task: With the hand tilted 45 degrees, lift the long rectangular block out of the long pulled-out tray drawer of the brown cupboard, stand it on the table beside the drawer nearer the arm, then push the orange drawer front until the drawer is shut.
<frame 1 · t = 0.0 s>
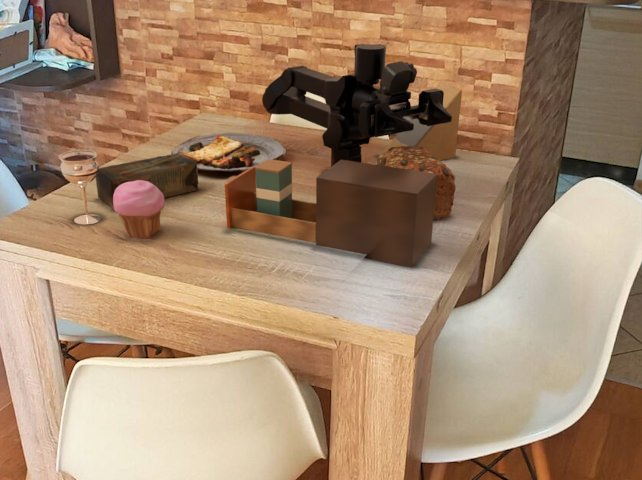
hand: (432, 123, 148), 17 cm above the table, tool horizontal, fingers open, 9 cm apart
long rectangular block: (275, 224, 149), point 1 cm above the table, touching drawer
cupcake: (142, 237, 146), on the table
bread: (411, 204, 160), on the table
drawer: (279, 204, 147), point 5 cm above the table, slide at 16.7 cm, touching long rectangular block
sandwich container: (416, 157, 184), on the table
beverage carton: (149, 196, 164), on the table
wineglass: (87, 220, 153), on the table
food plate: (228, 161, 182), on the table
brown cupboard: (373, 246, 143), on the table
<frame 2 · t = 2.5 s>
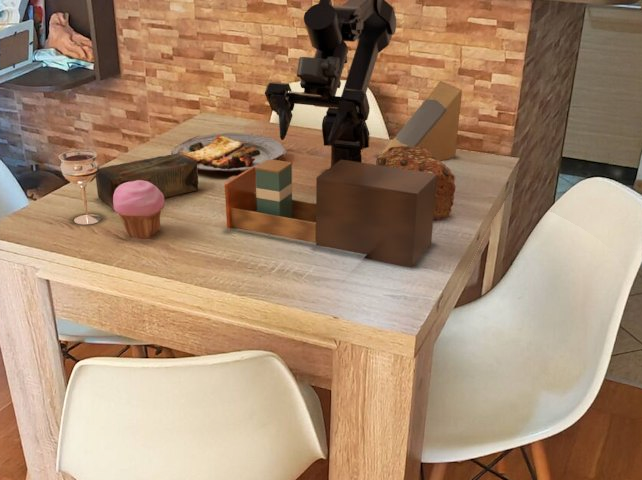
hand: (305, 141, 147), 14 cm above the table, tool tilted 50°, fingers open, 9 cm apart
nothing on the table moved.
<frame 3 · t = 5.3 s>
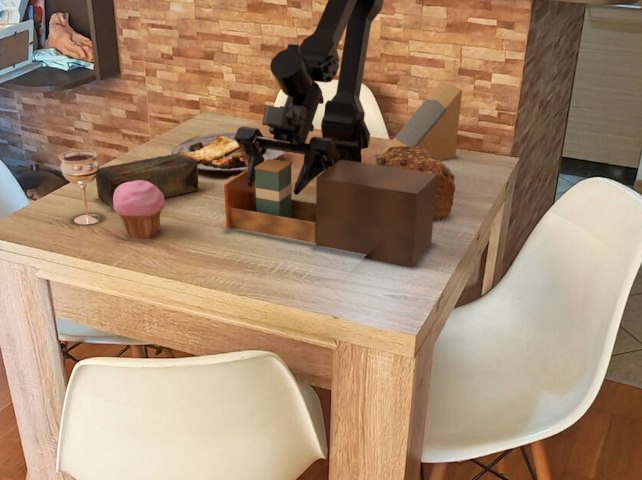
hand: (272, 189, 145), 8 cm above the table, tool tilted 45°, fingers open, 9 cm apart
drawer: (279, 204, 147), point 5 cm above the table, slide at 16.8 cm, touching long rectangular block, gripper
everything else where it was.
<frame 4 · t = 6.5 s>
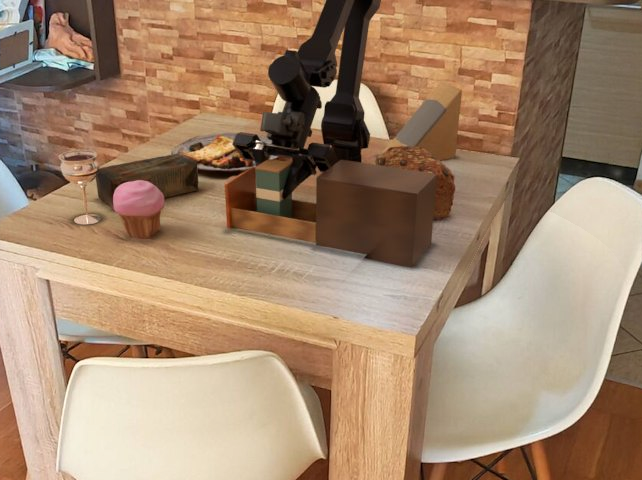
hand: (270, 195, 145), 7 cm above the table, tool tilted 45°, fingers closed on long rectangular block, 4 cm apart
long rectangular block: (275, 224, 149), point 1 cm above the table, touching drawer, gripper
drawer: (279, 204, 147), point 5 cm above the table, slide at 16.7 cm, touching long rectangular block
everything else where it was.
when the fingers open (6 cm above the table, at t = 12.0 s): long rectangular block stays where it is, on the table.
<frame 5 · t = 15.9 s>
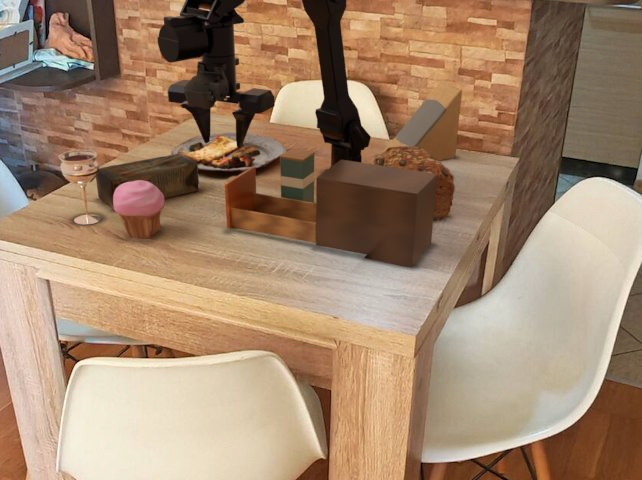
hand: (223, 144, 148), 13 cm above the table, tool pointing down, fingers open, 6 cm apart
long rectangular block: (297, 210, 157), on the table
drawer: (279, 204, 147), point 5 cm above the table, slide at 16.7 cm
everything else where it was.
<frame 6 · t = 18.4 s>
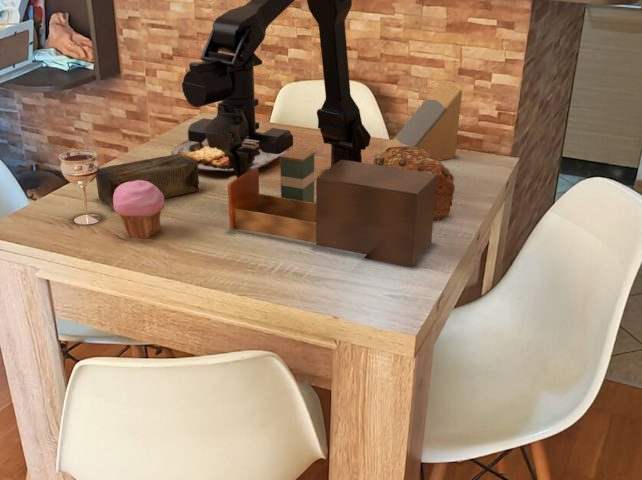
hand: (242, 182, 151), 7 cm above the table, tool pointing down, fingers closed
drawer: (282, 205, 146), point 5 cm above the table, slide at 16.1 cm, touching gripper
everything else where it was.
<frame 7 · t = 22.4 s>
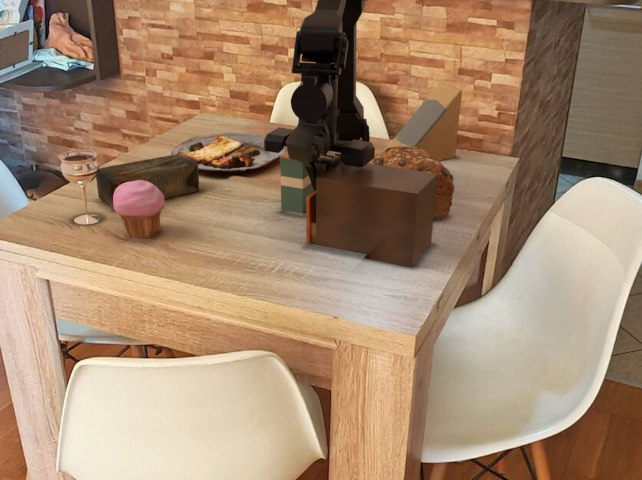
hand: (317, 194, 145), 7 cm above the table, tool pointing down, fingers closed
drawer: (361, 219, 141), point 5 cm above the table, slide at 0.9 cm
everything else where it was.
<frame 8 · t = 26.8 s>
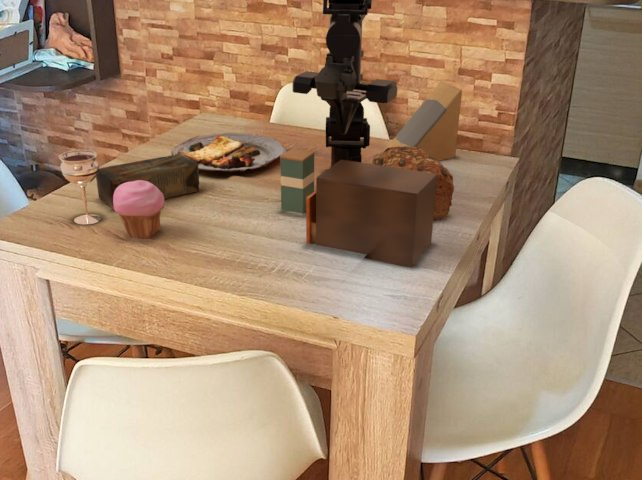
hand: (343, 134, 154), 13 cm above the table, tool pointing down, fingers closed
nothing on the table moved.
at the end: long rectangular block 0.1 cm from the target spot, on the table; long rectangular block tilted 0°; drawer slide at 0.9 cm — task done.
